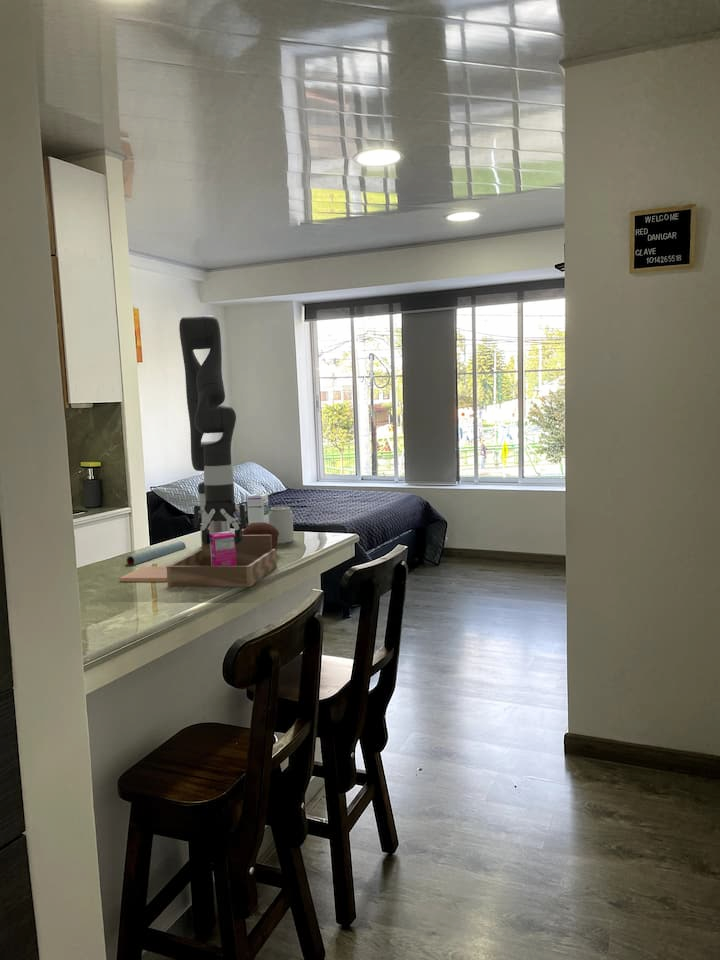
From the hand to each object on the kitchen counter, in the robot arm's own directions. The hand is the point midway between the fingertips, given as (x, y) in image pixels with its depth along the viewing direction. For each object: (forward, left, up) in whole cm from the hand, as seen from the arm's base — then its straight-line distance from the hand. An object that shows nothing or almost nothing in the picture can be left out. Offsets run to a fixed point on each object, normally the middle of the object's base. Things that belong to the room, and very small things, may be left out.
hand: (222, 543), depth 196 cm
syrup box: (-58, -9, -9) cm, 60 cm away
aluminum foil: (-24, -29, -9) cm, 38 cm away
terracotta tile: (0, -20, -9) cm, 22 cm away
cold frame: (0, 0, -9) cm, 9 cm away
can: (-44, +3, -9) cm, 45 cm away
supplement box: (0, 0, -9) cm, 9 cm away
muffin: (-25, +2, -9) cm, 27 cm away
